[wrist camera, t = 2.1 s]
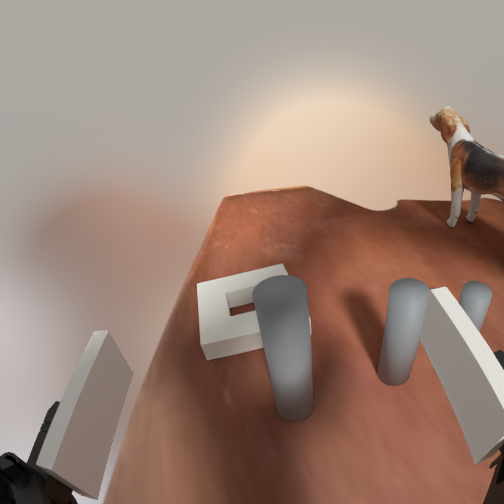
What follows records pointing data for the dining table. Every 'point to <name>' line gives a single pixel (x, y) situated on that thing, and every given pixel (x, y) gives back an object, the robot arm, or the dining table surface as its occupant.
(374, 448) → the dining table surface
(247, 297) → the block
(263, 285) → the tall dowel
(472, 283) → the short dowel
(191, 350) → the dining table surface
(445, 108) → the dog model
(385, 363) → the medium dowel
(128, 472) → the dining table surface
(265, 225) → the dining table surface
